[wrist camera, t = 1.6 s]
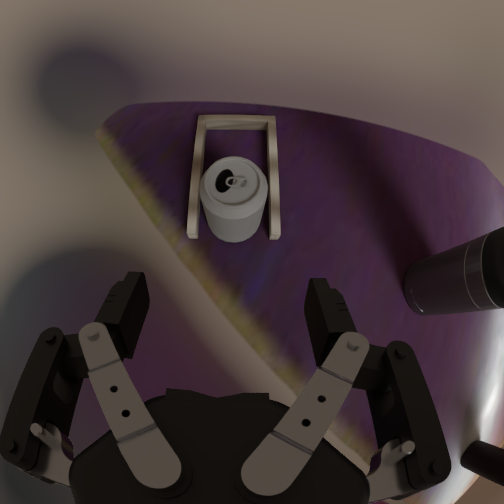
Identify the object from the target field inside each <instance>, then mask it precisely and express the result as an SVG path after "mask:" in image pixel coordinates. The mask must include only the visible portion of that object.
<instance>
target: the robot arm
mask: <svg viewBox="0 0 504 504" xmlns="http://www.w3.org/2000/svg"><path fill="white" fill-rule="evenodd" d="M404 292H405V297H406V300H407V302H408V304H409V306H410V307H411V309H412V310H413V311H414V312H416V313H417V314H420V315H441V314H454V313H465V312H475V311H485V310H493V309H501V308H504V227H502V228H499V229H497V230H495V231H492V232H490V233H488V234H485V235H483V236H481V237H478V238H476V239H474V240H471V241H469V242H466V243H464V244H461V245H459V246H456V247H454V248H451V249H449V250H446V251H443V252H441V253H438V254H435V255H432V256H430V257H427V258H424V259H422V260H419V261H417V262H415V263H413V264H412V265H411V266H410V268H409V269H408V271H407V273H406V276H405V281H404ZM149 302H150V299H149V293H148V288H147V284H146V279H145V274H144V273H143V272H130V271H129V272H128V273H127V275H126V277H125V279H124V281H118V282H117V283H116V284H115V285H114V286H113V287H112V288H111V290H110V292H109V294H108V296H107V297H106V299H105V302H104V303H103V305H102V307H101V309H100V311H99V313H98V315H97V317H96V319H95V321H94V322H93V323H89V324H87V325H85V326H84V327H83V328H82V329H81V330H80V332H79V334H72V335H64V334H63V332H62V331H61V330H60V329H59V328H56V327H52V328H48V329H46V330H45V331H43V332H42V333H41V335H40V337H39V338H38V340H37V342H36V344H35V346H34V348H33V351H32V353H31V355H30V357H29V359H28V361H27V364H26V366H25V368H24V371H23V373H22V375H21V378H20V380H19V383H18V385H17V388H16V390H15V393H14V396H13V398H12V401H11V404H10V407H9V410H8V413H7V416H6V419H5V422H4V425H3V428H2V432H1V435H0V453H1V455H2V456H3V458H4V459H6V460H7V461H8V462H10V463H12V464H13V465H15V466H16V467H18V468H19V469H20V470H22V471H24V472H25V473H27V474H29V475H31V476H33V477H35V478H37V479H40V480H42V481H44V482H46V483H49V484H52V483H58V484H60V485H63V486H66V487H69V488H71V491H72V494H73V497H74V500H75V504H370V503H374V502H378V501H382V500H386V499H390V498H391V499H393V500H401V499H404V498H407V497H409V496H412V495H414V494H417V493H419V492H421V491H424V490H426V489H428V488H431V487H433V486H435V485H437V484H439V483H441V482H443V481H444V480H445V479H446V478H447V477H448V476H449V474H450V471H451V460H450V456H449V452H448V449H447V445H446V441H445V438H444V434H443V431H442V428H441V425H440V421H439V418H438V415H437V412H436V409H435V406H434V403H433V400H432V398H431V395H430V392H429V389H428V386H427V384H426V381H425V379H424V376H423V373H422V371H421V368H420V366H419V363H418V361H417V358H416V356H415V353H414V351H413V349H412V348H411V347H410V346H409V345H408V344H407V343H405V342H402V341H392V342H390V343H389V344H388V346H387V348H386V347H380V346H375V345H371V344H369V342H368V340H367V339H366V338H365V337H364V336H363V335H361V334H359V333H357V331H356V328H355V325H354V323H353V320H352V318H351V315H350V313H349V311H348V308H347V305H346V303H345V300H344V298H343V296H342V294H341V293H340V292H339V291H338V290H337V289H330V287H329V284H328V282H327V279H326V278H310V280H309V284H308V289H307V293H306V298H305V303H304V314H305V318H306V323H307V327H308V331H309V336H310V340H311V344H312V349H313V353H314V358H315V362H316V367H319V368H318V369H317V370H316V372H315V373H314V375H313V376H312V378H311V379H310V381H309V382H308V384H307V385H306V387H305V388H304V389H303V391H302V392H301V394H300V395H299V396H298V398H297V399H296V401H295V402H294V404H293V405H292V406H291V407H288V406H286V405H284V404H282V403H280V402H276V401H273V400H269V393H241V394H236V395H231V396H225V397H219V398H215V397H211V396H207V395H204V394H201V393H198V392H194V391H191V390H180V389H170V388H167V390H166V395H162V396H157V397H154V398H152V399H149V400H147V401H146V402H144V403H143V402H142V400H141V398H140V396H139V394H138V393H137V391H136V389H135V387H134V385H133V383H132V381H131V380H130V378H129V376H128V374H127V372H126V370H125V368H124V366H123V360H124V358H128V359H132V357H133V354H134V351H135V348H136V345H137V341H138V338H139V335H140V332H141V329H142V326H143V323H144V321H145V318H146V315H147V312H148V309H149ZM320 366H321V367H320ZM84 378H90V381H91V383H92V385H93V389H94V391H95V393H96V396H97V399H98V401H99V403H100V405H101V408H102V410H103V413H104V415H105V417H106V419H107V422H108V423H109V426H110V428H111V429H110V430H109V431H108V432H106V433H105V434H104V435H103V436H101V437H100V438H99V439H98V440H96V441H95V442H94V443H93V444H91V445H90V446H89V447H87V448H86V449H85V450H83V451H82V452H81V453H80V454H78V455H77V456H76V457H75V458H74V452H73V449H74V448H73V444H72V441H71V440H70V439H69V438H68V436H69V431H70V427H71V423H72V418H73V415H74V411H75V407H76V403H77V400H78V396H79V392H80V389H81V386H82V382H83V379H84ZM351 387H352V388H357V389H363V390H366V393H367V398H368V402H369V406H370V411H371V415H372V420H373V425H374V430H375V435H376V440H377V445H378V451H376V452H375V453H374V454H373V456H372V457H371V460H370V470H369V473H368V474H367V476H366V475H365V474H364V473H363V471H362V470H361V469H359V468H358V467H357V466H356V465H355V464H353V463H352V462H351V461H350V460H349V459H347V458H346V457H345V456H344V455H343V454H341V453H340V452H339V451H338V450H337V449H336V448H334V447H333V446H332V445H331V444H330V443H329V442H328V441H326V439H324V438H323V436H324V435H325V433H326V431H327V430H328V428H329V426H330V425H331V423H332V421H333V420H334V418H335V416H336V414H337V413H338V411H339V409H340V407H341V406H342V404H343V402H344V400H345V398H346V396H347V395H348V393H349V391H350V389H351Z"/></svg>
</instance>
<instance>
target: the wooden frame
mask: <svg viewBox="0 0 504 504" xmlns="http://www.w3.org/2000/svg"><path fill="white" fill-rule="evenodd" d="M207 129H243V130H267V159H268V196H269V240H278V239H279V237H280V235H281V233H280V203H279V178H278V157H277V138H276V121H275V116H260V115H199V116H198V124H197V131H196V139H195V147H194V156H193V165H192V175H191V185H190V197H189V209H188V222H187V235H188V237H189V238H190V239H198V230H199V213H200V198H201V197H200V191H199V187H200V182H201V179H202V172H203V160H204V150H205V140H206V130H207Z"/></svg>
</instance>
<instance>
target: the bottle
mask: <svg viewBox="0 0 504 504" xmlns="http://www.w3.org/2000/svg"><path fill="white" fill-rule="evenodd" d="M461 465H462V467H464V468H466V469H468V470H470V471H472V472H474V473H476V474H478V475H480V476H482V477H485V478H486V479H489V480H491V481H493V482H495V483H497V484H499V485H502V486H504V449H502V448H499V447H496V446H494V445H491V444H488V443H485V442H483V441H480V440H478V441H475V442H473V443H472V444H471V445H470V446H469V447H468V448H467V449H466V451H465V452H464V454H463V456H462V459H461Z"/></svg>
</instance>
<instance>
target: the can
mask: <svg viewBox="0 0 504 504" xmlns="http://www.w3.org/2000/svg"><path fill="white" fill-rule="evenodd" d="M199 191H200V197H201V201H202V205H203V208H204V212H205V215H206V219H207V222H208V226H209V227H210V229H211V231H212V233H213V234H215V235H216V236H217V237H218V238H219V239H222V240H224V241H226V242H240V241H244V240H246V239H248V238H250V237H251V236H252V235H253V234H254V233H255V232H256V231H257V229H258V226H259V224H260V221H261V217H262V213H263V210H264V206H265V202H266V198H267V191H268V185H267V181H266V177H265V176H264V174H263V173H262V171H261V170H260V169H259V168H258V167H257V165H255V164H254V163H253V162H251V161H250V160H248V159H245V158H243V157H235V156H231V157H225V158H222V159H220V160H218V161H216V162H215V163H214V164H212V165H211V166H210V167H209V169H208V170H206V172H205V173H204V175H203V177H202V179H201V182H200V187H199Z"/></svg>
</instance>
